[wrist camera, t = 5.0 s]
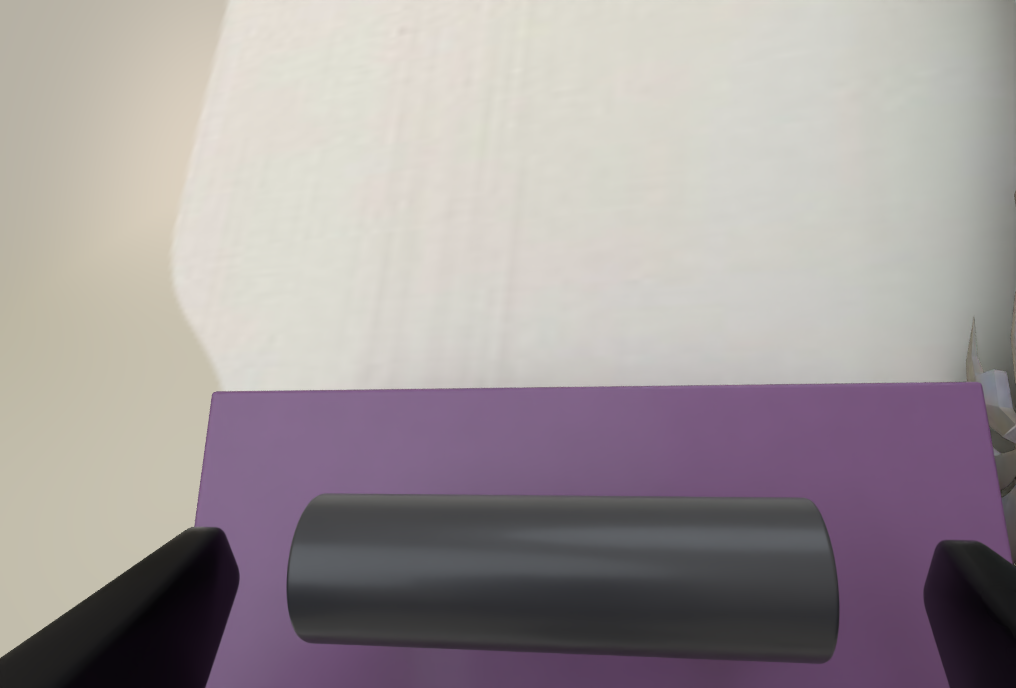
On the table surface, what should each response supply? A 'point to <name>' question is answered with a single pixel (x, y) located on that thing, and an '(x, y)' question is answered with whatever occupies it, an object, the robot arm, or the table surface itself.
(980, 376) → the ornate book
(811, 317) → the table surface
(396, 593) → the lid
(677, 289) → the table surface
